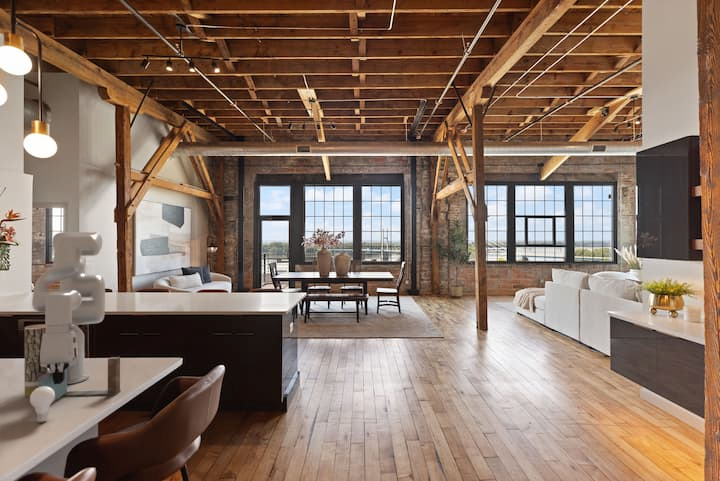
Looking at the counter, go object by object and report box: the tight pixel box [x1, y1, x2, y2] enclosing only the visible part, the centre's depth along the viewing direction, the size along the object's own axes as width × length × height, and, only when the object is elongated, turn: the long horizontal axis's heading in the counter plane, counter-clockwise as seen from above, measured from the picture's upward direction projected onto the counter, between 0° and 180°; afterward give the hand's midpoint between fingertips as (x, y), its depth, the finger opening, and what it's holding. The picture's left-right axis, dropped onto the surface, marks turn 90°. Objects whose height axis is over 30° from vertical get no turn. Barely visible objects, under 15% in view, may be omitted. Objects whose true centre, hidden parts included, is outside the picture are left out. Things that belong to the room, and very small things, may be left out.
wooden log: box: [23, 323, 49, 399], centre depth 162 cm, size 7×7×25 cm
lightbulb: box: [29, 386, 55, 424], centre depth 138 cm, size 6×6×11 cm
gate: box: [38, 366, 68, 402], centre depth 155 cm, size 16×2×10 cm, turn 8°
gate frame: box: [49, 356, 122, 398], centre depth 163 cm, size 23×4×13 cm, turn 96°
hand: (58, 382), depth 152 cm, fingers closed
